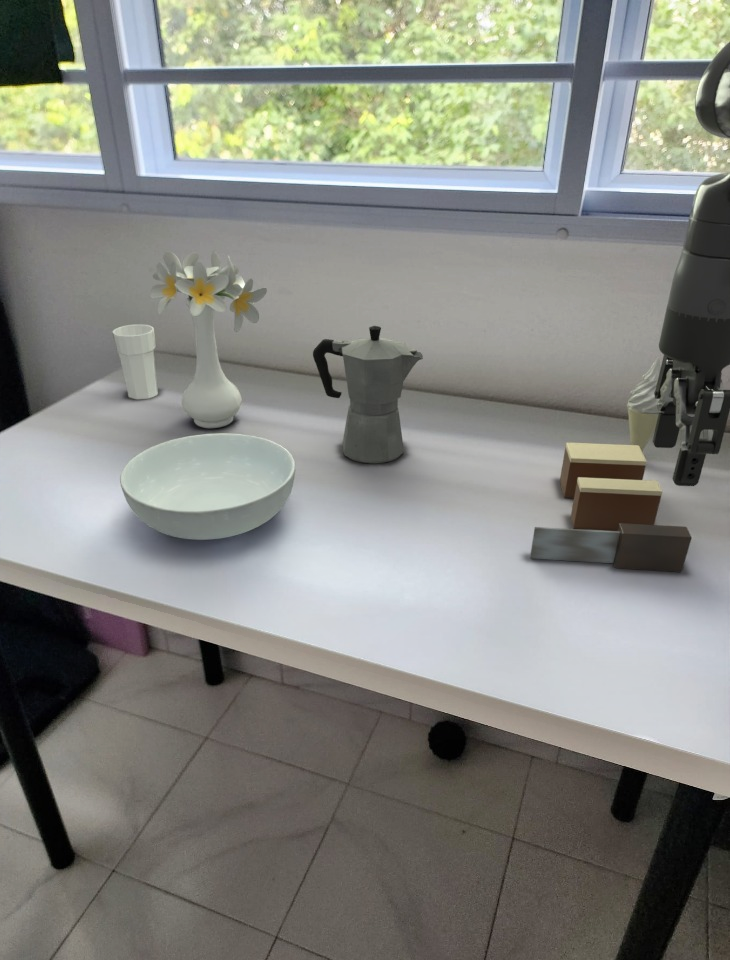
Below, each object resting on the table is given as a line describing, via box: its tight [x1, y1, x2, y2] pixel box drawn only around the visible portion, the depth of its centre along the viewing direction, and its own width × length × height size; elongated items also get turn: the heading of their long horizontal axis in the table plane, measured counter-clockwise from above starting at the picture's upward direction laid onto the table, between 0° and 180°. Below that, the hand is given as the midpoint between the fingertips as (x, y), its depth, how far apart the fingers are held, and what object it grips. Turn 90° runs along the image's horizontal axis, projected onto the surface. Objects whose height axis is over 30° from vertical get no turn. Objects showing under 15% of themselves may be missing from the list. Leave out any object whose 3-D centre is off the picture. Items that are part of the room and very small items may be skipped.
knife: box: [529, 523, 693, 573], centre depth 82 cm, size 16×2×4 cm, turn 82°
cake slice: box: [570, 477, 663, 531], centre depth 88 cm, size 9×3×6 cm, turn 82°
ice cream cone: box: [626, 356, 661, 452], centre depth 100 cm, size 5×5×15 cm
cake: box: [559, 442, 648, 499], centre depth 95 cm, size 9×5×6 cm, turn 82°
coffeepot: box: [312, 325, 424, 464], centre depth 104 cm, size 15×9×18 cm, turn 70°
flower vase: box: [148, 250, 268, 429], centre depth 111 cm, size 13×18×25 cm
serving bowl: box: [119, 432, 297, 541], centre depth 91 cm, size 21×21×7 cm
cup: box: [111, 323, 159, 400], centre depth 126 cm, size 7×7×11 cm
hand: (673, 464), depth 76 cm, fingers open, 8 cm apart
